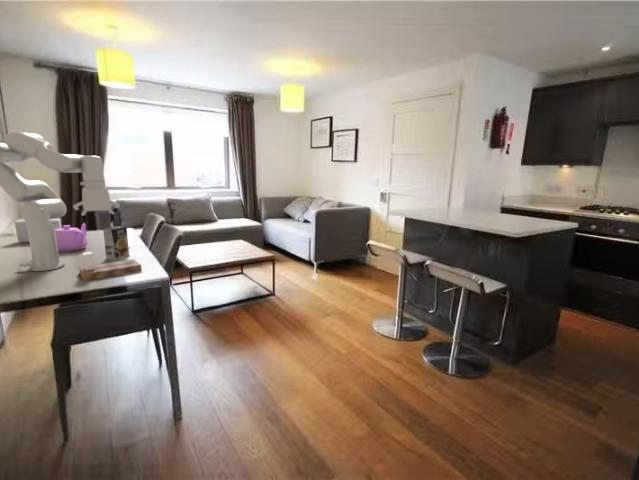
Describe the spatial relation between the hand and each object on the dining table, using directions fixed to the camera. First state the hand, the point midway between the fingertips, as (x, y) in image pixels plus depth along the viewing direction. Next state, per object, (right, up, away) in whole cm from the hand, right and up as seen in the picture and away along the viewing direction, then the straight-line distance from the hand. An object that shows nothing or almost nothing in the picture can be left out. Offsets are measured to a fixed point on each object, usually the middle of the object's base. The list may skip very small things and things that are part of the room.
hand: (99, 223), depth 148 cm
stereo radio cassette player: (-73, -8, +56) cm, 92 cm away
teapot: (-42, -13, +41) cm, 60 cm away
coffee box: (-7, -17, +26) cm, 32 cm away
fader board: (+4, -22, +3) cm, 23 cm away
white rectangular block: (-2, -20, -3) cm, 20 cm away
